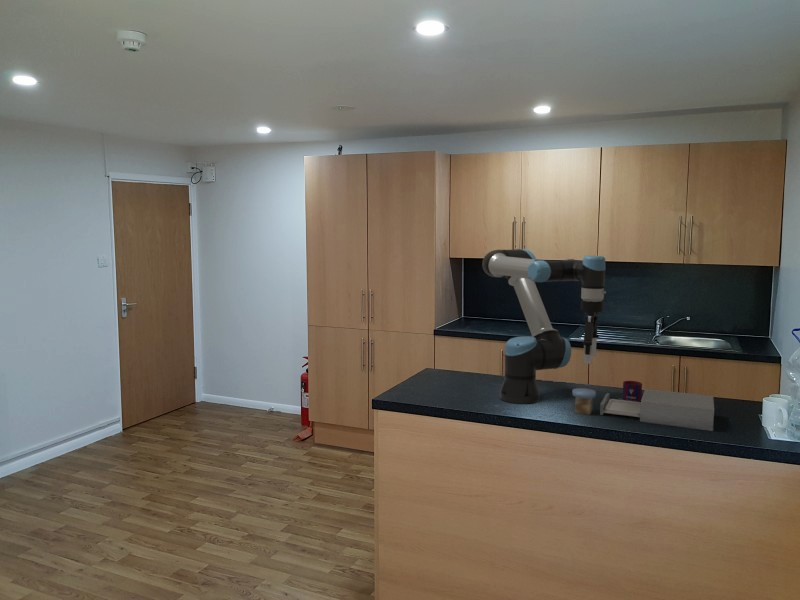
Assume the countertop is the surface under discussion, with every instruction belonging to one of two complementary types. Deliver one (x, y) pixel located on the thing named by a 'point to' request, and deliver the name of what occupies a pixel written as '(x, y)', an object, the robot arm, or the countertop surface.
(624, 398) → the mug
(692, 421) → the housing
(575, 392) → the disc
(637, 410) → the tray
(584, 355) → the robot arm
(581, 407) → the block
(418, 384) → the countertop surface
